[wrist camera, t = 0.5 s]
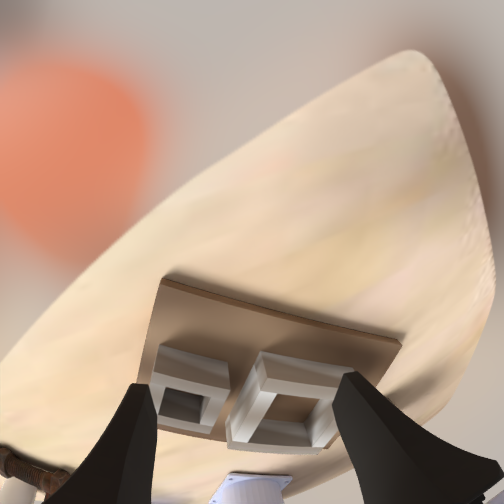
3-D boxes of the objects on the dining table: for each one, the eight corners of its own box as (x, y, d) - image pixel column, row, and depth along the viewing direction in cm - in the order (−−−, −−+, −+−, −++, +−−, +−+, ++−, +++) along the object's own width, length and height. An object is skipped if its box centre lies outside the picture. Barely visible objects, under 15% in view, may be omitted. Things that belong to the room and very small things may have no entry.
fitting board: (325, 442, 27) (336, 469, 23) (131, 413, 23) (123, 446, 19) (396, 339, 24) (420, 364, 20) (161, 277, 19) (151, 306, 15)
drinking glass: (5, 464, 25) (-12, 507, 15) (40, 485, 27) (27, 530, 17) (7, 476, 26) (-7, 515, 17) (39, 494, 28) (28, 535, 18)
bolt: (-9, 432, 25) (72, 467, 27) (-4, 458, 24) (76, 493, 26) (-29, 442, 19) (57, 484, 21) (-23, 470, 18) (62, 512, 20)
